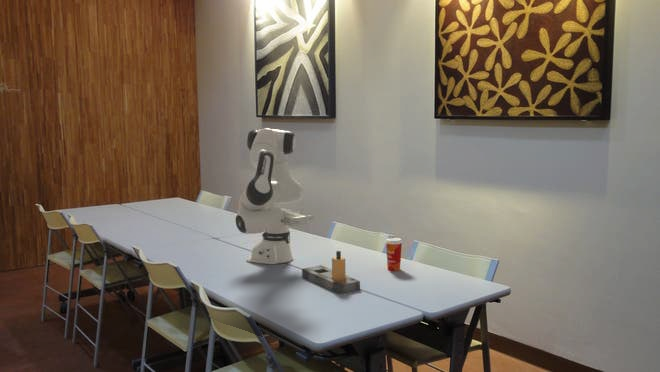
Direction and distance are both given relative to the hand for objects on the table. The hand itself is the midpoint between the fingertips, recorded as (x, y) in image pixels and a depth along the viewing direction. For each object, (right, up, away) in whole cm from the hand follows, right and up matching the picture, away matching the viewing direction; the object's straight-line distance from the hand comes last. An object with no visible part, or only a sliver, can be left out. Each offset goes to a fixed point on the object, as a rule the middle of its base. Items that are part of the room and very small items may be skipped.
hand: (306, 215), depth 241 cm
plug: (+13, -30, +3) cm, 33 cm away
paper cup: (+39, -26, +28) cm, 55 cm away
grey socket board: (+10, -29, +9) cm, 32 cm away
